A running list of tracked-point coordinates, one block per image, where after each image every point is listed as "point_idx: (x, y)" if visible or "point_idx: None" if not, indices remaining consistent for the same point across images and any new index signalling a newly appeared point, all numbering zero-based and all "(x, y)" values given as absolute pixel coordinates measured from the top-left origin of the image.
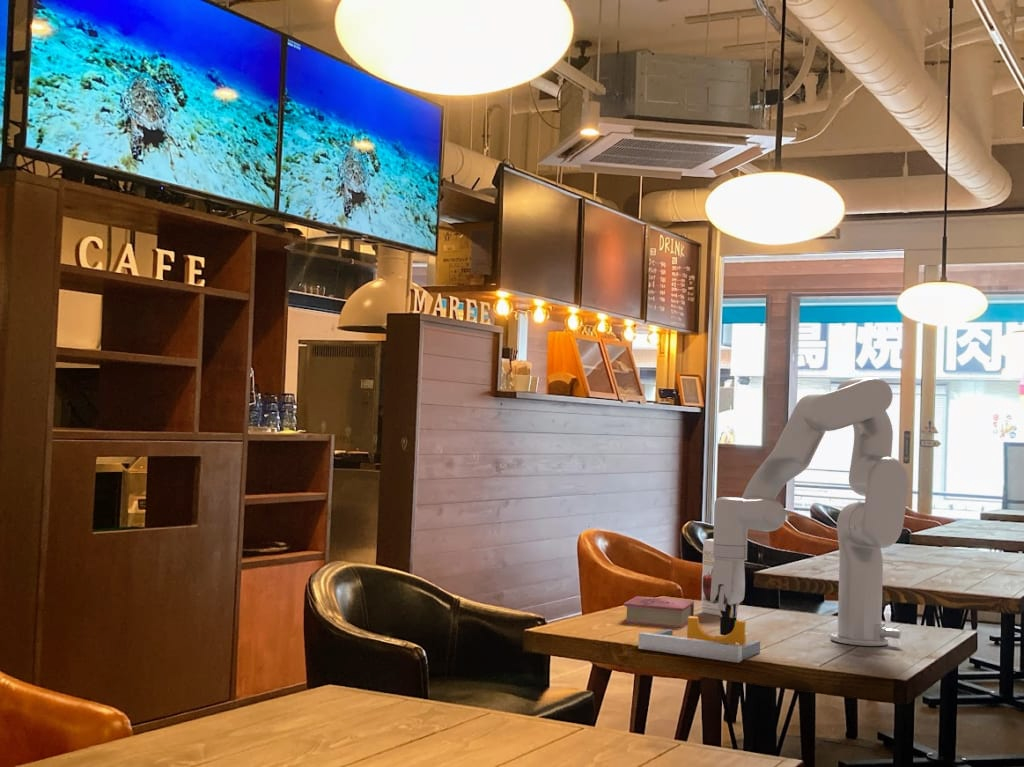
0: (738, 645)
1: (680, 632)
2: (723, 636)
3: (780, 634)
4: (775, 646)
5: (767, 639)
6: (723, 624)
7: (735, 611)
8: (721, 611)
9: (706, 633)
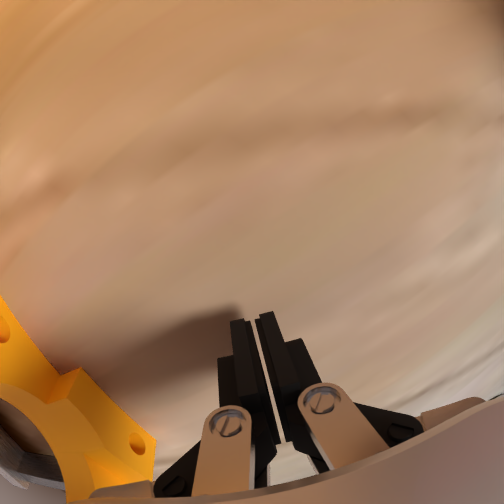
0: (18, 485)
1: (258, 10)
2: (75, 430)
3: (500, 323)
4: (296, 451)
5: (408, 372)
6: (221, 387)
7: (317, 472)
8: (168, 473)
9: (15, 386)
